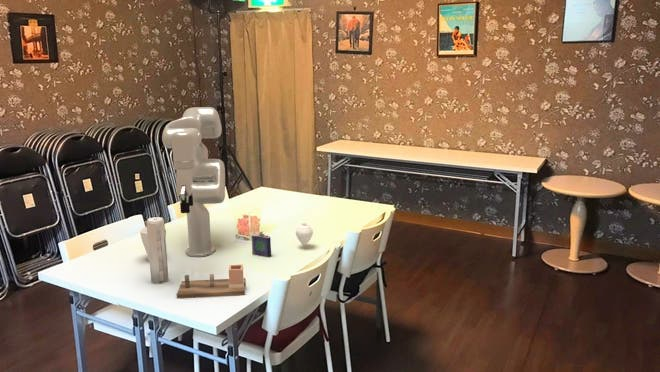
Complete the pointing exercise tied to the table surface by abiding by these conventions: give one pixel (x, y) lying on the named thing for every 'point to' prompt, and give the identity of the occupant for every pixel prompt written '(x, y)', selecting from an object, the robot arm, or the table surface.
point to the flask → (261, 245)
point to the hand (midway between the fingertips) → (187, 209)
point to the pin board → (208, 288)
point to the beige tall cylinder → (157, 250)
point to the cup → (146, 239)
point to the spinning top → (304, 233)
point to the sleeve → (236, 276)
